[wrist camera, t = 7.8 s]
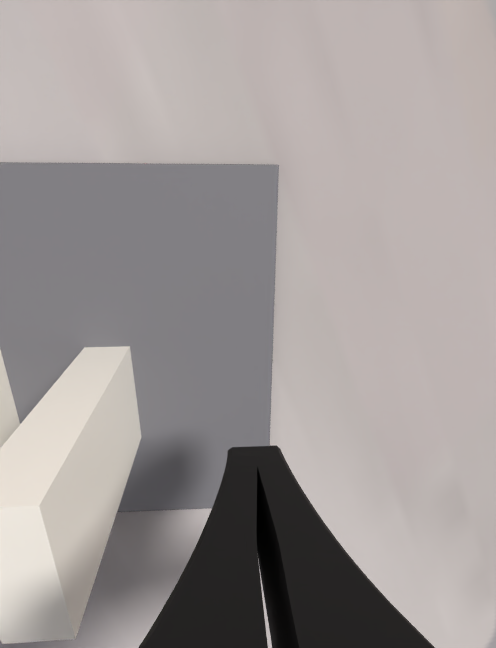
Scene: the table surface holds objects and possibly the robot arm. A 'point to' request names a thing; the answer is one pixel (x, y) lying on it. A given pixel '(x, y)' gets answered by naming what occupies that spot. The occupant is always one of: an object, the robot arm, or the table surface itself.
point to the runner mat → (148, 304)
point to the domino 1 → (6, 407)
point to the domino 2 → (64, 494)
